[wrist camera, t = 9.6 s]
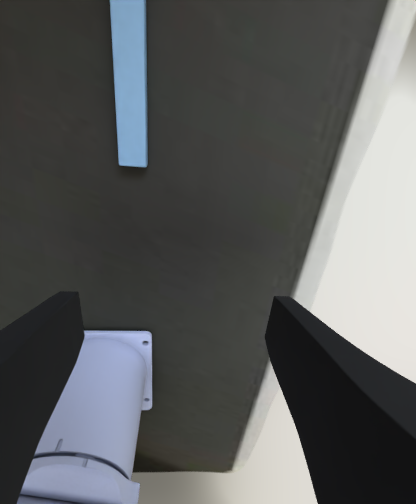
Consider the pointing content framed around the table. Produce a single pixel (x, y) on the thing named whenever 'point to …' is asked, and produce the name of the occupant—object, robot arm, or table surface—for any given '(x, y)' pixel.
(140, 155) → the spoon
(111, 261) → the table surface
